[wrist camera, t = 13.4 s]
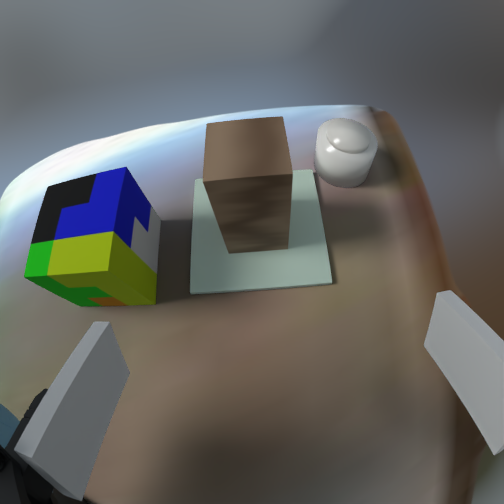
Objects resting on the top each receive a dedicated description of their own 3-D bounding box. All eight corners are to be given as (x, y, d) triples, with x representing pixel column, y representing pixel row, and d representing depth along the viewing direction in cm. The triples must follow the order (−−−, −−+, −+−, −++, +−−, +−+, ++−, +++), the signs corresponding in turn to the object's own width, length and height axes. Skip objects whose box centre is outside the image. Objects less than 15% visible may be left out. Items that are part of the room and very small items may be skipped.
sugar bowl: (319, 189, 33) (325, 156, 28) (309, 146, 36) (312, 113, 31) (374, 187, 33) (387, 156, 28) (360, 145, 36) (368, 114, 31)
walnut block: (228, 253, 30) (202, 181, 19) (228, 204, 33) (206, 123, 22) (287, 249, 30) (293, 173, 19) (282, 199, 32) (282, 116, 21)
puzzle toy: (161, 220, 33) (126, 166, 24) (155, 304, 29) (107, 270, 20) (91, 230, 34) (47, 186, 25) (80, 306, 30) (23, 277, 21)
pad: (191, 294, 29) (189, 292, 29) (196, 182, 35) (195, 179, 34) (331, 284, 29) (332, 282, 28) (311, 172, 34) (312, 169, 34)
